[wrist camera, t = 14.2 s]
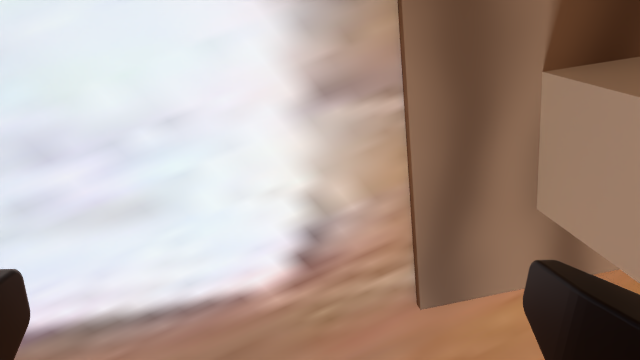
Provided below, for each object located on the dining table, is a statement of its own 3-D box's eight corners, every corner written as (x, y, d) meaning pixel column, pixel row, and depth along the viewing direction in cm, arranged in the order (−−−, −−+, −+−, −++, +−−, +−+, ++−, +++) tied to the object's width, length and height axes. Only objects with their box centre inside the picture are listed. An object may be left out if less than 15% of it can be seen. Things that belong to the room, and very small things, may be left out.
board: (416, 303, 25) (420, 309, 25) (377, -317, 16) (382, -326, 16) (741, 237, 27) (751, 242, 26) (865, -353, 18) (882, -362, 18)
